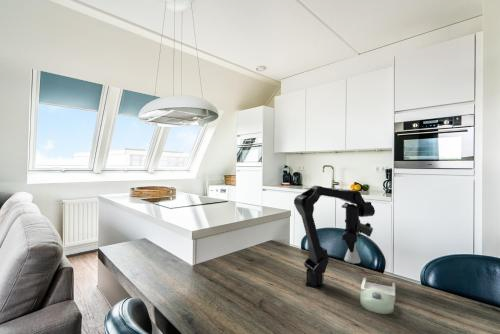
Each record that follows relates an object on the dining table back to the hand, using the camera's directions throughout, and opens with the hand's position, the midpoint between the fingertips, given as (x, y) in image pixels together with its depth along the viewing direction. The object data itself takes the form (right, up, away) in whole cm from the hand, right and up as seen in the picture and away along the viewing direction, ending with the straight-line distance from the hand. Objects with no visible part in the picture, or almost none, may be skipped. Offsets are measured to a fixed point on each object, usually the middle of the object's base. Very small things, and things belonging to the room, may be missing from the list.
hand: (352, 251), depth 117 cm
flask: (0, -5, 0) cm, 4 cm away
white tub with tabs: (+3, -12, -18) cm, 22 cm away
